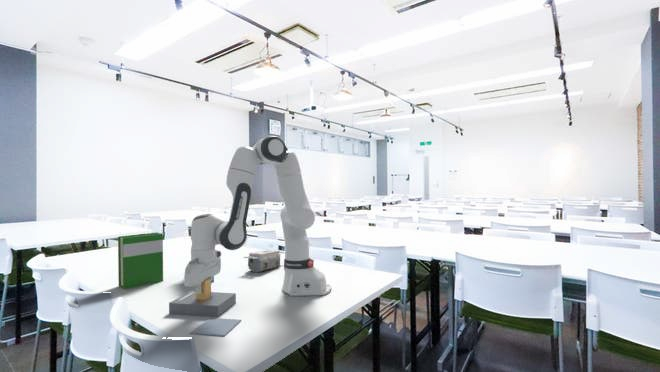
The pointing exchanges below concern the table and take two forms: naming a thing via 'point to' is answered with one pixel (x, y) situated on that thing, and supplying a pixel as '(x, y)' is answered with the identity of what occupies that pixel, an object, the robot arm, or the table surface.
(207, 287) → the plug
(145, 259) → the hardback book
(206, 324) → the mat
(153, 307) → the table surface
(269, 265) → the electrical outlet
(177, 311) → the grey block with hole
